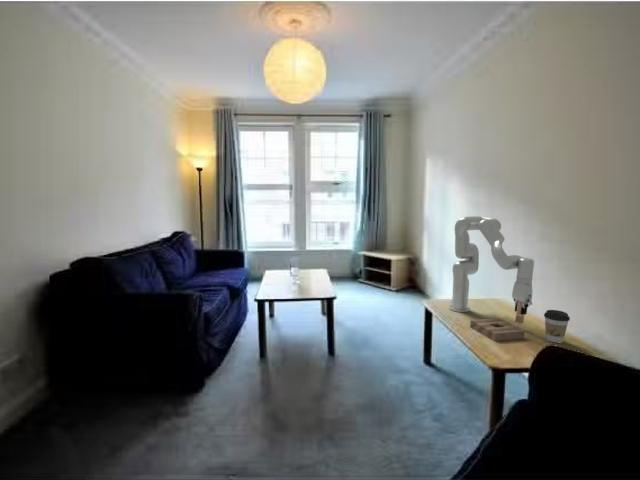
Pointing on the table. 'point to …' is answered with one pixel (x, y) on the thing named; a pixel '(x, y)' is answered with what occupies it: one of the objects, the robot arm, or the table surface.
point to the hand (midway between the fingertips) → (520, 312)
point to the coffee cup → (556, 325)
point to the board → (497, 329)
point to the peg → (519, 313)
